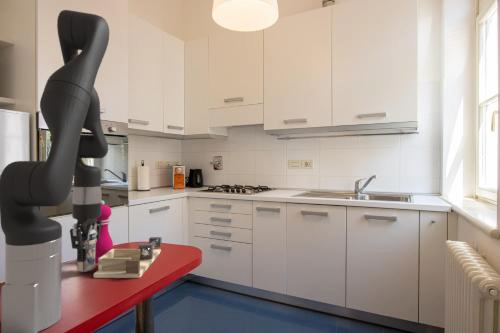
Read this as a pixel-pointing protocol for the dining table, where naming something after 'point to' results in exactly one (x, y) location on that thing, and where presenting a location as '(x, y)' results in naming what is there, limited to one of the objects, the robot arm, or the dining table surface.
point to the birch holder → (126, 262)
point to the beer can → (88, 254)
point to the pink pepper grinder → (103, 233)
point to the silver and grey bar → (156, 243)
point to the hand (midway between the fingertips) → (86, 258)
